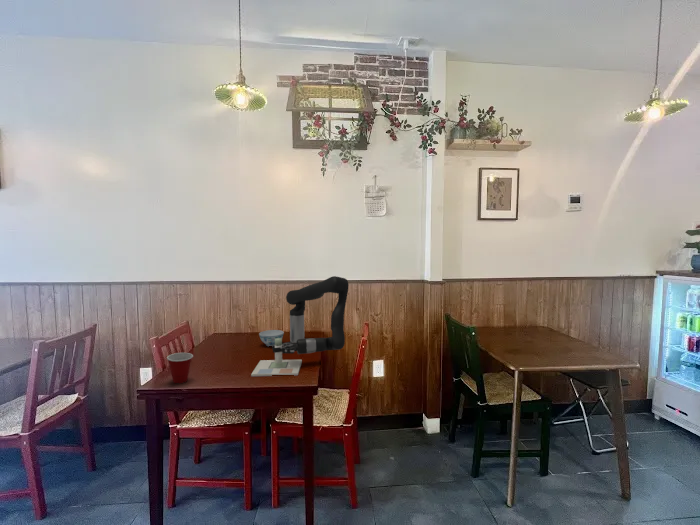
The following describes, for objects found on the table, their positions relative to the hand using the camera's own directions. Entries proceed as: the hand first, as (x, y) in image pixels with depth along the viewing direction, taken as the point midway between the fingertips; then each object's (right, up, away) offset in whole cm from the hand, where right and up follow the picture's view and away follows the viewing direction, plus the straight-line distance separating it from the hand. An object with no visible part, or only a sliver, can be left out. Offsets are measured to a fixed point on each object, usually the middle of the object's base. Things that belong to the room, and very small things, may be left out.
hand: (272, 349), depth 175 cm
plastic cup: (-39, -11, -16) cm, 43 cm away
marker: (+3, -7, +1) cm, 8 cm away
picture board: (+3, -10, -1) cm, 10 cm away
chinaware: (-10, -8, +41) cm, 43 cm away
